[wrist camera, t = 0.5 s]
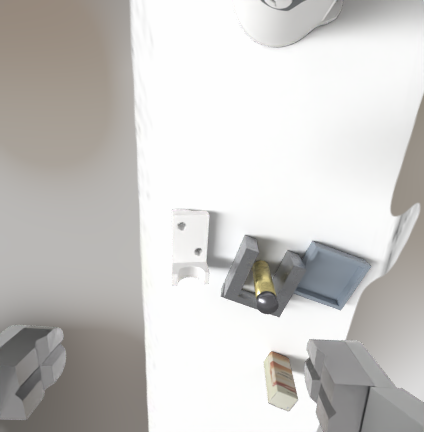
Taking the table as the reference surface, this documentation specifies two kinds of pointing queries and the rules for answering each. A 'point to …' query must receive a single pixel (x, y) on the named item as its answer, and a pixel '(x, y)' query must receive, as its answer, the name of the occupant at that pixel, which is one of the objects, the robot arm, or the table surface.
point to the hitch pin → (264, 288)
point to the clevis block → (282, 280)
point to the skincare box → (280, 381)
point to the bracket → (189, 245)
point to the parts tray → (330, 275)
